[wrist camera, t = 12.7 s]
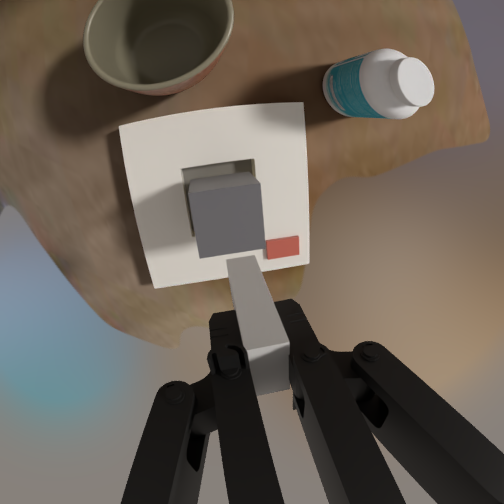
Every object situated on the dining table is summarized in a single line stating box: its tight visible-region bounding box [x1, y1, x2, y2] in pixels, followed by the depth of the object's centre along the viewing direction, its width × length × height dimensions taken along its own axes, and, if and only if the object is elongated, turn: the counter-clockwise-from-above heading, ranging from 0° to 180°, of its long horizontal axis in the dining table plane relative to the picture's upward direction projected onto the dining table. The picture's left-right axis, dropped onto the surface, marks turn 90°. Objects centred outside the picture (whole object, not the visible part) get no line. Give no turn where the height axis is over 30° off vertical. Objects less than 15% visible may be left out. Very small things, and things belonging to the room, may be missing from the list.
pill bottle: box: [323, 49, 434, 119], centre depth 24 cm, size 8×7×14 cm
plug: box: [188, 172, 266, 259], centre depth 29 cm, size 6×6×10 cm
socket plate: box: [119, 102, 309, 288], centre depth 32 cm, size 20×20×3 cm
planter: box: [83, 0, 234, 96], centre depth 20 cm, size 12×12×11 cm
